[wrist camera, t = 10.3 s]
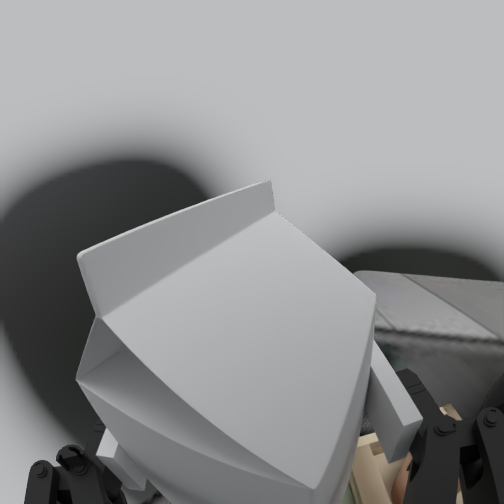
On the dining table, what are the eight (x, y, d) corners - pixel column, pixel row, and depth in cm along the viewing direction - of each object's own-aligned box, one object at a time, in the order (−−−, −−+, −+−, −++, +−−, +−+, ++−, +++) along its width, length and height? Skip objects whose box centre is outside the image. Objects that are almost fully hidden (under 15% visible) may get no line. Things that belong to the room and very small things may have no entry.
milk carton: (348, 484, 14) (374, 174, 8) (309, 569, 8) (316, 269, 2) (253, 461, 17) (187, 189, 11) (203, 533, 12) (19, 250, 6)
